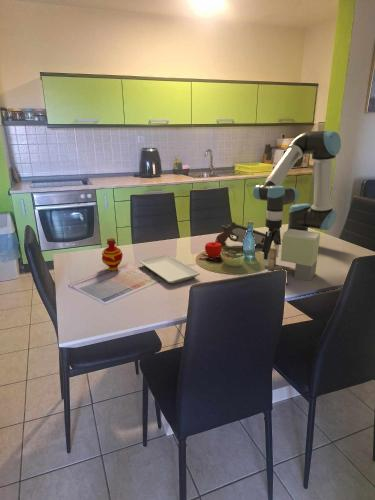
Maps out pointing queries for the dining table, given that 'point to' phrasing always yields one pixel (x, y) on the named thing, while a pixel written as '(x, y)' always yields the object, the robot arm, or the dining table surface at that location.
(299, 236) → the pale green stepped block
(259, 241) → the gun
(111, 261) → the red yellow vase
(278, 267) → the blade tool
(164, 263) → the tray
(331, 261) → the dining table surface
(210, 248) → the apple
